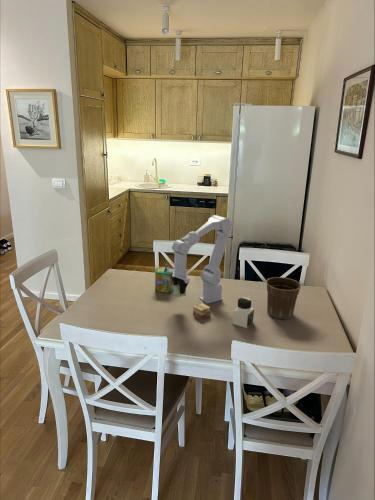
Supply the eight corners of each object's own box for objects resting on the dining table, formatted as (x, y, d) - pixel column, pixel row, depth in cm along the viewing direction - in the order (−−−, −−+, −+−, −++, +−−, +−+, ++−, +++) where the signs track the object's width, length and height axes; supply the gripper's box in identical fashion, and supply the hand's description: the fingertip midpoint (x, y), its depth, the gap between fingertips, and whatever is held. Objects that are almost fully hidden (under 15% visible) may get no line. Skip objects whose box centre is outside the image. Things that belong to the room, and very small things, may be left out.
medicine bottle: (247, 328, 163) (249, 304, 160) (232, 324, 167) (234, 300, 163) (253, 322, 169) (255, 298, 165) (239, 318, 173) (240, 294, 169)
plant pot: (274, 303, 189) (278, 274, 184) (303, 314, 178) (307, 283, 173) (256, 313, 178) (259, 282, 173) (285, 325, 167) (289, 293, 162)
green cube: (181, 292, 181) (181, 283, 179) (185, 295, 177) (186, 287, 176) (173, 293, 178) (173, 285, 177) (177, 297, 175) (177, 288, 173)
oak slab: (201, 307, 177) (201, 303, 176) (209, 311, 173) (210, 307, 172) (193, 311, 174) (193, 306, 173) (201, 315, 170) (201, 310, 169)
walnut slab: (203, 312, 178) (203, 307, 177) (210, 317, 173) (210, 312, 172) (192, 314, 175) (193, 310, 175) (199, 320, 170) (199, 315, 170)
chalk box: (159, 285, 207) (159, 260, 202) (174, 287, 205) (175, 262, 201) (154, 291, 198) (154, 266, 194) (170, 293, 197) (171, 268, 192)
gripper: (165, 261, 177) (165, 287, 181) (180, 271, 165) (179, 299, 169) (178, 259, 180) (178, 285, 185) (193, 269, 169) (192, 296, 173)
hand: (179, 291), depth 177 cm, fingers closed on green cube, 4 cm apart
